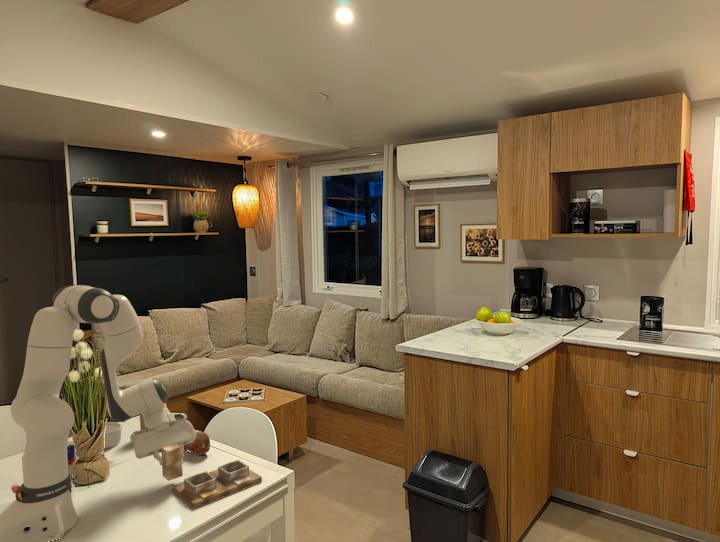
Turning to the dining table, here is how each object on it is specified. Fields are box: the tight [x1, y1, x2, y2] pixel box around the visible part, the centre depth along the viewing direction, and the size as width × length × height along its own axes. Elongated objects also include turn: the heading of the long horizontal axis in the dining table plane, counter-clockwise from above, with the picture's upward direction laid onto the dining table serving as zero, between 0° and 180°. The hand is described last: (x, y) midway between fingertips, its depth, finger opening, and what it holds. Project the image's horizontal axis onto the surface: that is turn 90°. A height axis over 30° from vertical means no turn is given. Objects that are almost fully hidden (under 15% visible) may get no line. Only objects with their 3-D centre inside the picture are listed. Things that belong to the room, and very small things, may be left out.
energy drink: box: [67, 440, 78, 481], centre depth 176 cm, size 5×5×12 cm
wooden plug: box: [161, 444, 184, 482], centre depth 170 cm, size 5×5×10 cm
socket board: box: [171, 459, 263, 509], centre depth 168 cm, size 24×16×4 cm, turn 133°
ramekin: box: [104, 421, 123, 450], centre depth 205 cm, size 13×13×7 cm
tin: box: [183, 429, 211, 456], centre depth 195 cm, size 15×3×8 cm, turn 55°
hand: (172, 460), depth 169 cm, fingers closed on wooden plug, 5 cm apart
